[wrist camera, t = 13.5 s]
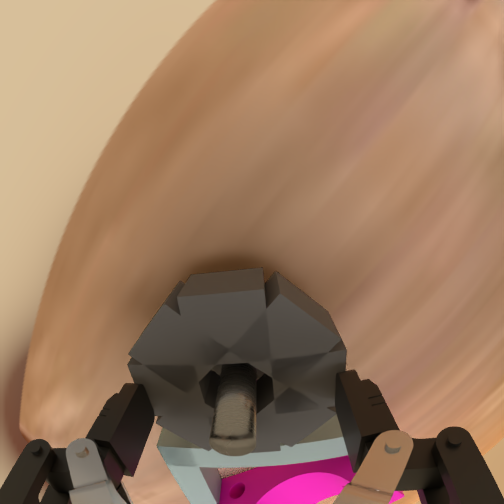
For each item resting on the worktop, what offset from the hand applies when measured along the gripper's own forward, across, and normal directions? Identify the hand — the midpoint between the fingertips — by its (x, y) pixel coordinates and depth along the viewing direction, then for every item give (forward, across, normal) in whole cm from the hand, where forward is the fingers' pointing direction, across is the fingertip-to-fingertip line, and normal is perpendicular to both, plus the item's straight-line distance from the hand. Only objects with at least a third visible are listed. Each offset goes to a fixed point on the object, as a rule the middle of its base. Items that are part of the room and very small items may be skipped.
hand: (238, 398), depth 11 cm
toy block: (+7, -3, +17) cm, 19 cm away
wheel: (+3, 0, 0) cm, 3 cm away
